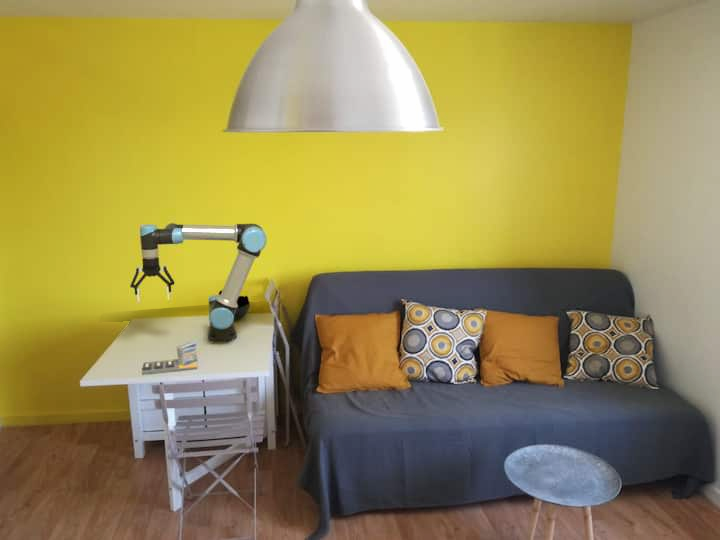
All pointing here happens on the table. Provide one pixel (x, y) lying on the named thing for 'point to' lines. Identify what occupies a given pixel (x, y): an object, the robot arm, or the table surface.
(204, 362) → the table surface
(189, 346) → the medicine box
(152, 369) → the breaker panel
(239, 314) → the bowl of black rocks
